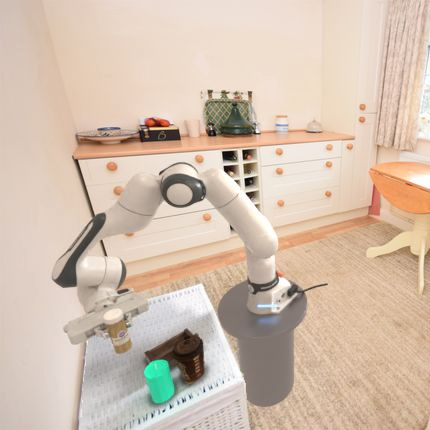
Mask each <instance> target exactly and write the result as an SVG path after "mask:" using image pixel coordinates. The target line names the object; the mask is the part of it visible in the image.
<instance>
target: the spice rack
mask: <svg viewBox="0 0 430 430" xmlns="http://www.w3.org/2000/svg"><path fill="white" fill-rule="evenodd" d="M185 335H188V336H189V335H196V336H198V337H200V336H199V333H198V332H195V333H192V332H191V331H190V329H188V328H184V329H183V331H181V332H179V333H177V334H176V335H174V336H173V337H170V338H169V339H167V340H165V341H164V342H162V343H160V344H158V345H157V346H155V347H153V348H151V349H149V350H146V351H144V353H143V354H144V357H145V360H146V361H147V363H148V365H149V364H150V362H153V361H155V360H165V361H167V362H168V365H169V369H170V371H171V370H172V369H173V368H175V367H178V366H177V363H176V361H175V359H173V357H172V350H173V348H174V345H175V343H176V342H177V341H179V340H180V339H181V338H182V337H184V336H185Z"/></svg>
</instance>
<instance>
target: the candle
mask: <svg viewBox="0 0 430 430" xmlns="http://www.w3.org/2000/svg"><path fill="white" fill-rule="evenodd" d="M143 374H144V377H145V380H146V383H147V387H148V390H149V393H150V396H151V401H152V402H153V403H155V404H163V403H166V402H168V401H169V400H170V399H172V397H173V395H174V394H175V390H176V388H175V385H174V380H173V377H172V373H171V370H170V369H169V365H168V362H167V361H165V360H155V361H153V362H150V364H149V363H148V365H146V367H145V369H144V371H143Z"/></svg>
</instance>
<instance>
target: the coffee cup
mask: <svg viewBox="0 0 430 430" xmlns="http://www.w3.org/2000/svg"><path fill="white" fill-rule="evenodd" d="M173 347H174V348H173V350H172V357H173V359H175V361H176V363H177V366H176V367H177V368H178V370H179V372H180V374H181V376H182V380H183V381H184V382H185V383H186V384H190V385H191V384H195V383H196V382H198V381H199V380H201V379H202V378H203V377H204V375H205V372H206V371H205V369H206V368H205V351H204V340H203V339H202V338H201V337H200V336H199V337H198V336H196V335H194V334H193V335H189V336H188V335H185V336H184V337H182V338H181V339H180V340H179V341H177V342H176V343H175V345H174V346H173Z"/></svg>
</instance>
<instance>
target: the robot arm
mask: <svg viewBox="0 0 430 430" xmlns="http://www.w3.org/2000/svg"><path fill="white" fill-rule="evenodd" d="M205 199H206V200H207V201H208V202H209V203H210V204H211V205H212V206H213V207H214V208H215V209H216V211H217V212H218V213H219V214H220V215H221V216H222V217H223V218H224V219H225V220H226V222H227V223H228V224H229V225H230V226H231V228H232V229H233V230H234V232H235V233H236V234H237V236H238V237H239V238H240V240H241V241H242V242H243V246H244V251H245V258H246V266H247V267H246V268H247V277H246V278H247V279H246V280H247V282H248V289H249V294H248V300H247V308H248V310H249V311H251V312H252V313H255V314H278V313H279V312H280V311H281V310H282V309H283V308H284V307H285V306H286V305H287V304H289V303H290V302H291V301H292V300H293V299H294V298H295V297H296V296H297V293H302V292H305V293H306V292H309V291H311V290H313V289H316V288H319V287H320V288H321V287H325V286H328V284H329V283H328V282H326V283H321V284H317V285H313V286H311V287H308V288H305V289H303V290H302V291H298V286H297V285H298V284H297V285H295V284H293V285H292V286H291V284H290V283H289V281H288V280H289V279H288V280H286V279H287V278H285V277H284V273H283V272H281V271H278V270H277V269H276V257H275V255H276V254H277V252H278V250H279V246H280V245H279V244H280V243H279V237H278V235H277V233H276V231H275V230H274V228H273V226H272V224H271V223H270V220H269V219H268V218H267V217H266V216H265V215H263V214H262V213H261V212H260V210H259V209H258V208H257V207H256V205H255V204H254V203H253V201H252V200H251V199H250V197H249V196H248V195H247V194H246V193H245V191H244V190H243V189H242V188H241V186H240V185H239V184H238V183H237V182H236V181H235V179H233V178H232V177H231V175H229V174H228V173H227V172H225V170H223V169H222V168H219V167H212V168H209V169H207V170H205V171H204V172H199V171H198V170H197V169H196V167H195V166H194V165H192V164H191V163H189V162H185V161H179V162H176V163H175V162H174V163H172V164H171V165H169V166H168V167H167V166H166V167H165V168H164V169H162V170H161V171H159V172H158V175H155V174H153V173H149V172H138V173H136V174H134V175H133V176H132V177H131V178H130V179H129V181H128V182H127V183H126V184H125V186H124V188H123V189H122V190H121V192H120V194H119V196H118V198H117V200H116V201H115V203H114V204H113V205H112V206H110V207H109V208H108V209H107V210H105V211H103V212H99V213H97V214H95V215H94V216H93V217H92V218H91V219H90V220H89V221H88V223H87V224H86V225H85V226H84V228H83V229H82V230H81V231H80V233H79V234H78V235H77V237H76V238H75V239H74V241H73V242H72V244H71V245H70V246H69V247H68V249H67V250H66V251H65V252H64V253H63V254H62V255H61V256H60V257H59V258H58V259H57V260H56V261H55V263H54V265H53V266H52V271H51V280H52V281H53V282H54V283H55V285H57V286H59V287H60V288H62V289H67V288H76V296H77V299H78V302H79V303H80V305H81V306H82V307H83V310H84V312H85V314H83V315H81V316H79V317H76V318H74V319H72V320H70V321H68V322H67V324H65V325H64V326H62V330H63V333H66V334H67V337H68V340H69V342H70V344H71V345H75V346H76V345H80V344H81V343H83V342H86V341H87V340H90V339H92V338H94V337H97V338H103V340H104V341H105V340H107V339H109V338H110V334H109V332H108V329H107V326H106V324H105V323H104V320H103V316H104V314H105V313H106V312H108V311H110V310H112V309H121V310H122V312H123V315H124V321H125V323H126V326H127V329H129V328H132V327H133V326H134V324H133V320H134V318H136V317H137V316H140V315H142V314H144V313H146V312H148V311H149V309H150V304H149V301H148V299H147V297H145V296H144V295H143V294H142V293H140V292H137V291H135V290H134V288H133V287H126V288H123V289H121V287H122V285H123V284H124V282H125V281H126V278H127V272H128V271H127V266H126V264H125V262H124V261H123V260H122V258H120V257H119V256H107V255H105V256H103V255H102V256H101V255H99V256H98V255H89V254H90V253H91V252H92V250H93V249H94V248H95V246H96V245H97V243H99V242H100V241H102V240H103V239H106V238H110V237H114V236H118V235H126V234H127V235H128V234H134V233H137V232H140V231H142V230H145V229H146V228H147V227H149V225H150V224H151V223H152V222H153V220H154V218H155V216H156V215H157V213H158V210H159V208H160V206H161V205H162V204H163V202H165V203H166V204H168V205H169V206H171V207H173V208H176V209H184V208H188V207H190V206H192V205H194V204H197V203H200V202H203V201H205Z"/></svg>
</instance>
